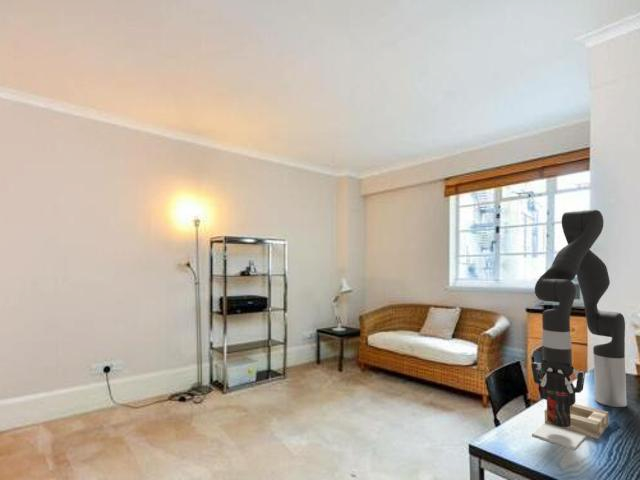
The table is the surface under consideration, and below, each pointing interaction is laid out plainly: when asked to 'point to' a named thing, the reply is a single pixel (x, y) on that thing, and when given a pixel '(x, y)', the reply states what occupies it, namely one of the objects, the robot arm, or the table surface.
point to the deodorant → (557, 399)
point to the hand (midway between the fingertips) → (558, 401)
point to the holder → (586, 420)
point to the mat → (559, 436)
